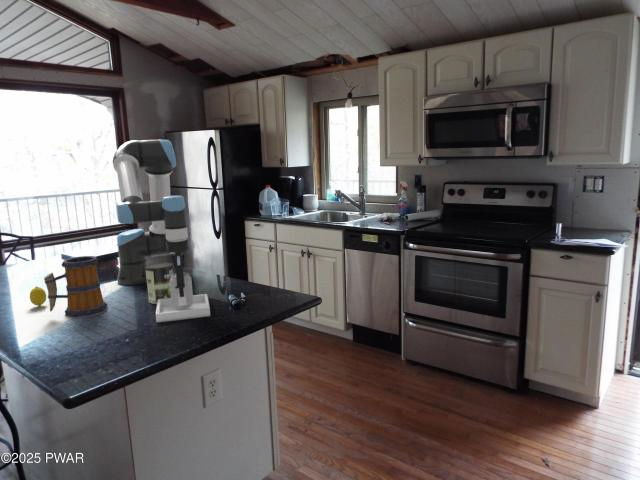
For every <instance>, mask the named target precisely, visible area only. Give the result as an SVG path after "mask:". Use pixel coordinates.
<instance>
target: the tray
mask: <svg viewBox="0 0 640 480" xmlns="http://www.w3.org/2000/svg"><path fill="white" fill-rule="evenodd" d="M205 317H211V307H210V302H209V296H208V294H207V293H204V294H196V295H195V294H193V304H192V305H191V306H190V307H188V308H183V309H177V308H175V307H174V306H172V299H171V298H166V299H158V302H157V304H156V309H155V320H156V323H157V324H159V323H166V322H172V321H174V322H175V321H181V320H182V321H183V320H189V319H198V318H205Z"/></svg>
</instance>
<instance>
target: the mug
mask: <svg viewBox="0 0 640 480" xmlns="http://www.w3.org/2000/svg"><path fill="white" fill-rule="evenodd" d="M99 261H100V260H99V258H97V256H93V255H84V256H83V255H82V256H75V257H70V258H66V259H64V260H63V261H62V263H61V267H62V268H64V270H65V271H64V272H65V273H64V274H61V275H58V276H54V272H50V273H49V274H47V275H46V276H44V279H43V280H44V284H45V285H46V289H47V293H48V295H47V299H48V302H49V312H52V311H53V310H54V308H55V305H56V302H57V299H67V307H66V308H65V310H64V313H65V314H64V316H65V317H66V318H69V319H85V318H91V317H94V316H99V315H101V314H103V313H105V312H107V311H108V309H109V308H108V307H109V306H108V304H107V302H106V301H104V298H103V294H102V290H101V281H100V279H99V274H98V266H97V264H98V262H99ZM64 278H65V279H66V285H65V288H66V293H67V294H58V285H57V281H59V280H61V279H64Z"/></svg>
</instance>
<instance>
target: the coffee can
mask: <svg viewBox="0 0 640 480" xmlns="http://www.w3.org/2000/svg"><path fill="white" fill-rule="evenodd" d="M173 266H174V263H171V262H156V263H150V264H148V265H147V266H145V269H146V278H147V282H146V285H147V295H148V302H149V303H150V304H153V305H157V302H158V299H166V298H171V289H170V279H171V275H172V274H174V269H173V268H174V267H173Z"/></svg>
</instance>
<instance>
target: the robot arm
mask: <svg viewBox="0 0 640 480" xmlns="http://www.w3.org/2000/svg"><path fill="white" fill-rule="evenodd" d="M112 166H113V169H114V170H115V171H116V174H117V179H118V180H117V182H118V188H119V195H120V201H121V202H120V203H117V204H116V213H117V214H116V215H117V222H118V223H119V224H122V225H123V224H124V225H126V224H129V225H132V224H140V223H149V222H150V223H151V225H149V227H148V231H145V230H144V229H143V228H135V229H129V230H126V231H123V232H121V233H118V235H117V236H116V240H117V243H116V246H117V249H118V261H119V269H118V274H117V278H116V280H117V284H118V285H120V286H121V285H122V286H135V285H140V284H147V278H146V269H145V266H147V265H149V264H148V259H147V258H149V257H151V258H152V257H158V256H159V257H160V256H169V255H172V261H173V266H174V267H173V268H174V269H175V273H176V278H177V286H176V287H175V289H176V288H177V292H178V303H179V306H182V305H187V302H186V291H185V284H184V273H183V272H185V271H184V269H185V260H186V259H185V254H183V252H186V251H188V250H189V249H190V247H189V246H190V245H189V239H188V238H189V234H188V225H187V215H186V214H187V213H186V203H185V197H184V195H171V180H170V179H171V178H170V175H171V174H172V173H173V172H174V170H173V168H176V167H177V158H176V154H175V150H174V146H173V143H172V141H170V140H169V139H160V138H159V139H141V140H137V139H136V140H135V139H134V140H133V139H132V140H129V141H126V142H124V143H123V144H121V145H120V146H119V147H118V148H117V150H116V151H115V152H114V155H113V157H112ZM139 169H144V173H145V174H146V175H148V184H149V185H148V186H149V197H150V200H145V201H144V198H143V193H142V186H141V183H140V177H139V171H138V170H139Z"/></svg>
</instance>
